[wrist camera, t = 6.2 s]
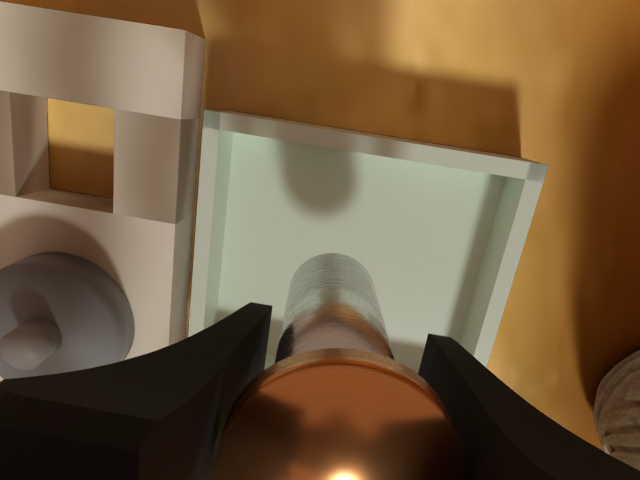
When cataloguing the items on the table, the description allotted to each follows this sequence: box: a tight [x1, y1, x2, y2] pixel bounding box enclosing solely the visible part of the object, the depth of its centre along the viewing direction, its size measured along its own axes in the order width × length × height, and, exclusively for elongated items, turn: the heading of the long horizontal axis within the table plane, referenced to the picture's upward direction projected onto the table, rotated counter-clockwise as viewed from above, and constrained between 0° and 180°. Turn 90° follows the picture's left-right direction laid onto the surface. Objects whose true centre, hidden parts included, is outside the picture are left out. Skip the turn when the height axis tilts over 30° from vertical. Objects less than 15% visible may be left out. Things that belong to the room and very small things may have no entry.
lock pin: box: [213, 253, 466, 480], centre depth 11 cm, size 4×4×8 cm
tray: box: [188, 110, 548, 374], centre depth 18 cm, size 12×11×2 cm
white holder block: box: [0, 1, 205, 382], centre depth 17 cm, size 9×16×5 cm, turn 171°
